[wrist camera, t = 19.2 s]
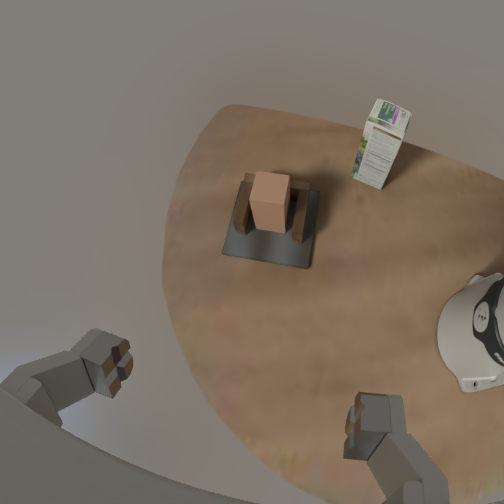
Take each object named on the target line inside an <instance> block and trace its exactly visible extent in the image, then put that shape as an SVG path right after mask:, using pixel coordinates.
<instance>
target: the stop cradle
mask: <svg viewBox="0 0 504 504" xmlns="http://www.w3.org/2000/svg"><path fill="white" fill-rule="evenodd" d="M255 175H256V174H248V173H246V174H245V178H244V181H241V184H240V188H239V192H238V195H237V199H236V202H235V206H234V210H233V213H232V217H231V221H230V224H229V228H228V232H227V235H226V239H225V243H224V247H223V250H222V254H223V255H229V256H235V257H240V258H246V259H252V260H258V261H263V262H269V263H275V264H281V265H287V266H293V267H299V268H304V269H308V264H309V258H310V252H311V246H312V240H313V233H314V227H315V220H316V214H317V207H318V200H319V193H320V192H319V191H313V190H310V186H311V182H309V181H302V180H295V179H290V212H289V217H288V222H287V227H286V232H285V233H279V232H273V231H267V230H260V229H256V226H255V222H254V218H253V213H252V209H251V205H250V201H249V198H250V194H251V190H252V186H253V183H254V179H255Z"/></svg>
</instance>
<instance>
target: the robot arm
mask: <svg viewBox="0 0 504 504" xmlns="http://www.w3.org/2000/svg"><path fill="white" fill-rule="evenodd" d="M437 338H438V346H439V351H440V354H441V356H442V359H443V361H444V363H445V364H446V366H447V367H448V368H449V369H450V370H451V371H452V372H453V373H454V374H455V376H456V377H457V378H458V381H459V384H460V387H461V389H462V391H463V392H464V393H471V392H476V391H480V390H484V389H488V388H492V387H496V386H499V385H503V384H504V275H502V274H501V273H495V274H493V275H491V276H488V277H486V278H485V277H483V276H480V275H475V276H473V277H472V278H471V279H470V280H469V282H468V283H467V285H466V287H465V288H464V289H463V290H461V291H460V292H458V293H457V294H455V295H454V296H453V297H452V298H451V299H450V300H449V301H448V302H447V304H446V305H445V307H444V309H443V311H442V313H441V316H440V319H439V324H438V332H437ZM129 349H130V344H129V341H128V340H126V339H123V338H121V337H118V336H116V335H113V334H110V333H108V332H105V331H102V330H99V329H97V328H93V329H91V330H90V331H89V332H88V333H87V334H86V335H85V336H84V337H83V338H82V339H81V340H80V341H79V342H78V343H77V344H76V345H75V346H74V347H73V348H72V349H71V350H70V351H69V352H68V351H63V352H61V353H58V354H55V355H52V356H48V357H45V358H42V359H39V360H36V361H33V362H31V363H27V364H24V365H21V366H18V367H17V368H16V369H15V370H14V371H13V372H12V373H11V374H10V375H9V376H8V377H7V378H6V379H5V380H4V381H3V382H2V383H1V384H0V504H257V503H253V502H248V501H244V500H240V499H235V498H231V497H227V496H223V495H220V494H216V493H212V492H209V491H205V490H202V489H199V488H195V487H192V486H189V485H186V484H183V483H180V482H177V481H174V480H171V479H168V478H166V477H163V476H160V475H158V474H155V473H153V472H150V471H148V470H145V469H143V468H140V467H138V466H135V465H133V464H131V463H129V462H127V461H124V460H122V459H120V458H118V457H116V456H113V455H111V454H109V453H107V452H105V451H103V450H101V449H99V448H97V447H95V446H93V445H91V444H89V443H87V442H85V441H84V440H82V439H80V438H78V437H76V436H74V435H73V434H71V433H69V432H68V431H66V430H64V429H62V428H61V425H62V424H63V423H62V420H61V418H60V416H59V415H58V413H57V412H58V411H60V410H62V409H64V408H66V407H68V406H70V405H72V404H74V403H75V402H77V401H79V400H81V399H83V398H85V397H87V396H89V395H91V394H93V393H94V391H95V392H97V393H99V394H102V395H105V396H107V397H109V398H112V399H113V398H114V396H115V395H116V393H117V392H118V391H119V389H120V388H121V381H123V380H126V379H127V378H128V377H129V375H130V374H131V371H132V368H133V357H132V355H131V354H130V353H129V352H128V350H129ZM474 382H475V383H476V385H475V386H474ZM345 433H346V434H347V436H348V437H347V439H346V440H345V442H344V455H343V458H344V459H353V460H363V461H367V464H368V466H369V467H370V469H371V471H372V473H373V475H374V476H375V478H376V480H377V482H378V484H379V485H380V487H381V489H382V491H383V493H384V494H385V496H386V498H387V500H386V501H384V502H383V503H382V504H450V501H449V489H448V480H447V478H446V476H445V475H444V474H443V473H442V471H441V470H440V469H439V468H438V467H437V465H436V464H435V463H434V462H433V461H432V459H431V458H430V457H429V456H428V454H427V453H426V452H425V451H424V450H423V448H422V447H421V446H420V445H419V444H418V442H417V441H416V440H415V439H414V438H413V436H412V435H411V434H407V431H406V422H405V413H404V405H403V398H402V397H401V396H397V395H386V394H376V393H365V392H358V394H357V395H356V397H355V405H354V406H352V407H351V408H350V410H349V412H348V416H347V419H346V425H345ZM489 504H504V500H502V501H498V502H494V503H489Z"/></svg>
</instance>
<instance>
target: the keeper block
mask: <svg viewBox="0 0 504 504" xmlns="http://www.w3.org/2000/svg"><path fill="white" fill-rule="evenodd" d="M249 201H250V205H251V209H252V213H253V218H254V222H255V226H256V229H260V230H267V231H273V232H279V233H285V232H286V227H287V222H288V217H289V212H290V175H283V174H275V173H267V172H259V171H256V175H255V179H254V183H253V186H252V190H251V194H250V198H249Z"/></svg>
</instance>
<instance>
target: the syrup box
mask: <svg viewBox="0 0 504 504" xmlns="http://www.w3.org/2000/svg"><path fill="white" fill-rule="evenodd" d="M411 116H412V113H410V112H409V111H407V110H405V109H403V108H401V107H399V106H397V105H394V104H392V103H390V102H387V101H384V100H381V99H377V100H376V103H375V105H374V107H373V109H372V111H371V113H370V116H369V117H368V119H367V122H366V125H365V129H364V132H363V136H362V139H361V143H360V146H359V150H358V153H357V157H356V161H355V164H354V168H353V171H352V174H351V177H352V178H354V179H356V180H359V181H361V182H363V183H365V184H368V185H370V186H372V187H375V188H377V189H379V190H381V189H382V187H383V185H384V182H385V180H386V178H387V176H388V174H389V171H390V169H391V167H392V165H393V162H394V160H395V158H396V156H397V153H398V151H399V149H400V146H401V144H402V141H403V139H404V136H405V134H406V131H407V129H408V126H409V123H410V119H411Z"/></svg>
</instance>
